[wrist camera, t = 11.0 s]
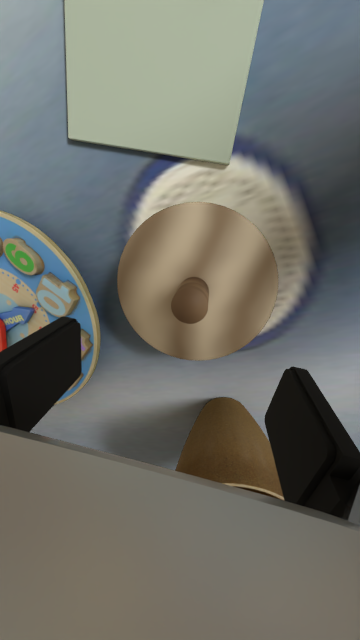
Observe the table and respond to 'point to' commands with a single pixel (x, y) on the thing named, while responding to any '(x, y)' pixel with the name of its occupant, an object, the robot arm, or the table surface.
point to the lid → (197, 281)
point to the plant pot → (230, 449)
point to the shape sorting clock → (43, 292)
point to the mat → (159, 73)
